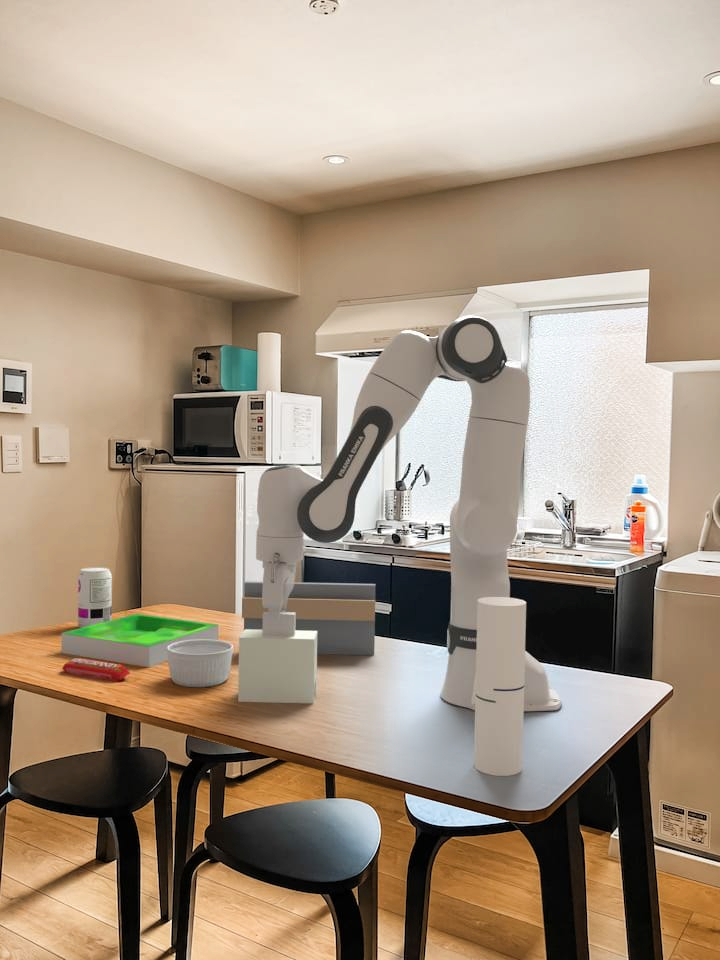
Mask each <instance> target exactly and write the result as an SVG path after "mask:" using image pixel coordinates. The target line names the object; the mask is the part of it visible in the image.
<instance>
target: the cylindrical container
mask: <svg viewBox="0 0 720 960" xmlns="http://www.w3.org/2000/svg"><path fill="white" fill-rule="evenodd" d="M526 623H527V601H525V600H524V599H520V598H516V597H510V598H508V597H485V598H480V599H478V605H477V650H476V695H475V711H474V740H473V741H474V743H473V744H474V745H473V746H474V749H473V750H474V751H473V767H474V768H475V769H476V770H477V771H479V772H480V773H483V774H486V775H489V776H499V777H507V776H509V777H510V776H515V775H518V774H520V773H521V772H522V770H523V752H524V750H523V746H524V742H523V741H524V712H525V711H524V673H525V651H526V628H527V625H526Z"/></svg>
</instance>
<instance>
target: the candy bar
mask: <svg viewBox="0 0 720 960" xmlns="http://www.w3.org/2000/svg"><path fill="white" fill-rule="evenodd" d="M61 670H63V671H64V673H65V674H69V675H75V676H81V677H87V678H93V679H99V680H105V681H111V682H121V681H122V680H123V679H124V678H125V677H127V676H129V675H131V672H130V671H129V670H128V669H127V667H126V666H125V665H122V664H119V663H118V664H117V663H111V662H108V661H107V662H105V661H100V660H91V659H87V658H80V657H79V658H78V657H76V658H72V659H69V660H68V661H67V662H66V663H65V664H64V665H63V666H62V667H61Z"/></svg>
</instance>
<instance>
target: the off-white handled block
mask: <svg viewBox="0 0 720 960" xmlns="http://www.w3.org/2000/svg"><path fill="white" fill-rule="evenodd" d="M295 624H296V612H280V627H279V629H277V630H273V629H270V619H269V613H268V612H264V613H263V630H254V629H245V630H244V629H243V632H241V634H240V635H239V637H238V683H237V684H238V692H237V695H238V696H237V697H238V699H237V700H238V702H239V703H241V702H242V703H275V704H276V703H279V704H280V703H283V704H286V703H287V704H290V703H291V704H314V703H315V695H317V691H318V690H317V688H318V687H317V685H318V684H317V680H318V679H317V675H318V671H317V670H318V654H317V631H300V630H295Z"/></svg>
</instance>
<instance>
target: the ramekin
mask: <svg viewBox="0 0 720 960" xmlns="http://www.w3.org/2000/svg"><path fill="white" fill-rule="evenodd" d="M233 654H234V645H233V643H231V642H228V641H225V640H219V639H218V640H209V639H197V640H186V641H180V642H176V643H173V644H170V645H169V646H168V647H167V655H168V661H167V662H168V667H169V668H168V669H169V676H170V678H171V680H172V682H174V683H175V684H176V685H177V686H181V687H188V688H208V687H214V686H217V685H221V684H223V683H225V682H226V680H227V679H228V678H229V676H230V673H231V667H232V657H233Z"/></svg>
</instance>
